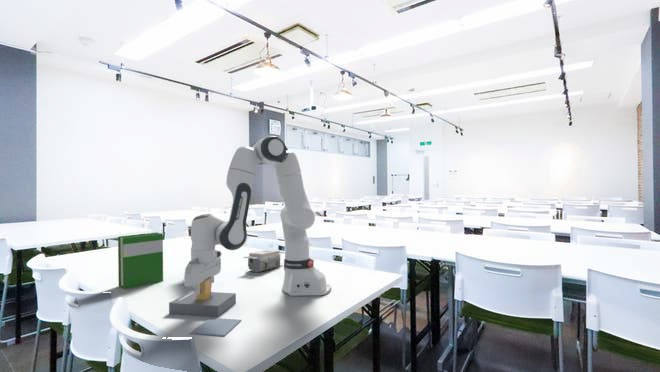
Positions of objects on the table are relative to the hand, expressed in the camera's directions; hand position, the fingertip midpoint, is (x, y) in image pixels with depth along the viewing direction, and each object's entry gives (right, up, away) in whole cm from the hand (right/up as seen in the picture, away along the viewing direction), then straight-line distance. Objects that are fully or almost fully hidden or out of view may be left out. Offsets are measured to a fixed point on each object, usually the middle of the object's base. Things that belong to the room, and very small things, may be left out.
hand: (203, 291), depth 128 cm
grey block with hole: (0, -7, 0) cm, 7 cm away
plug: (0, -7, 0) cm, 7 cm away
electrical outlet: (+12, -7, +61) cm, 62 cm away
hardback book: (-44, -7, +33) cm, 55 cm away
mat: (+11, -7, -17) cm, 22 cm away
